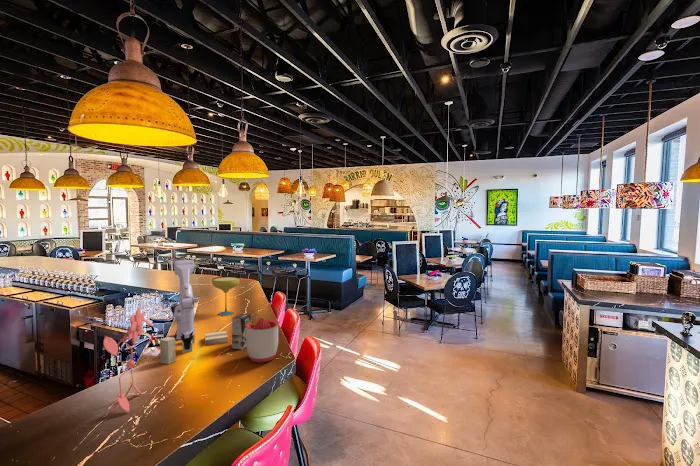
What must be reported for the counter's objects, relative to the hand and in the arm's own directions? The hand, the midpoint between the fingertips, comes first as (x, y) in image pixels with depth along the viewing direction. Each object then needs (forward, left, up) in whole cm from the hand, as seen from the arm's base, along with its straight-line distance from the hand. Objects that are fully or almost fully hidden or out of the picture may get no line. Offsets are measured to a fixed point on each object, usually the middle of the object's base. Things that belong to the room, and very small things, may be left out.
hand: (187, 347), depth 170 cm
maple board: (-9, +14, -2) cm, 17 cm away
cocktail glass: (-60, +23, -2) cm, 64 cm away
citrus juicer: (+23, +33, -2) cm, 40 cm away
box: (+11, -8, -2) cm, 14 cm away
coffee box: (+4, +26, -2) cm, 26 cm away
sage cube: (0, 0, -2) cm, 2 cm away
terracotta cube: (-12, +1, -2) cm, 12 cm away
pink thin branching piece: (+46, -15, -2) cm, 48 cm away
